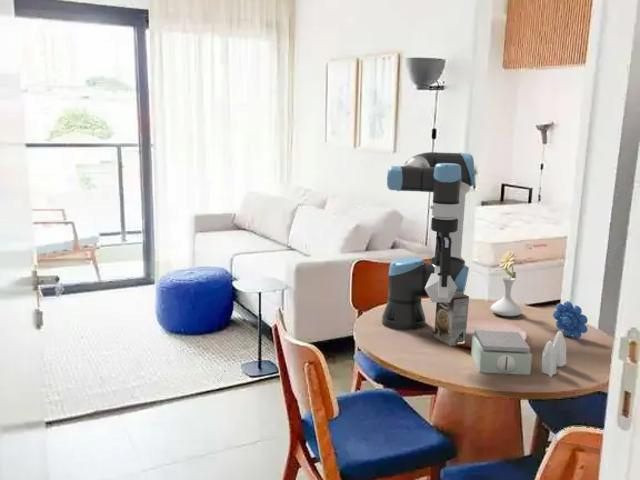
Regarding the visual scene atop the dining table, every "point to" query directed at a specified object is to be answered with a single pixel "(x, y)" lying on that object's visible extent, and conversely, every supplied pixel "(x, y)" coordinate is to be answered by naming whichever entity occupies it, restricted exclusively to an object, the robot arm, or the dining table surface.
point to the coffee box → (452, 319)
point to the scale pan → (501, 341)
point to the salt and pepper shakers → (554, 355)
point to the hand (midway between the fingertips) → (440, 291)
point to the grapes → (570, 319)
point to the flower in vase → (507, 289)
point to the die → (433, 289)
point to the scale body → (500, 360)
